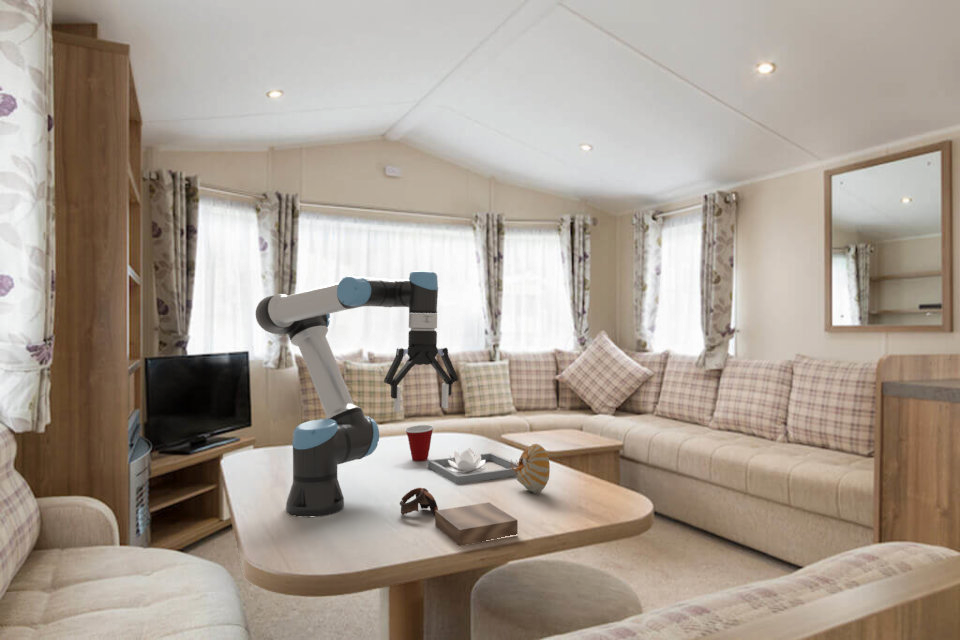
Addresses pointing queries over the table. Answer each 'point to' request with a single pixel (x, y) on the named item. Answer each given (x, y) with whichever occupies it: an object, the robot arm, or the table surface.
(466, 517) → the brown wooden square block
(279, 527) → the table surface
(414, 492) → the broken clay pottery vessel
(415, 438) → the plastic cup
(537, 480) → the nautilus
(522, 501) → the table surface
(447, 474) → the slate frame
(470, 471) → the lotus flower
